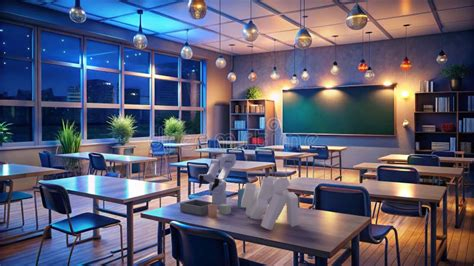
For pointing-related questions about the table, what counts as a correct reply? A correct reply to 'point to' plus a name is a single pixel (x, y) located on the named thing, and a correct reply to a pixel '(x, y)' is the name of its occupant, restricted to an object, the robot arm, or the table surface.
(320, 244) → the table surface
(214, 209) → the terracotta cylinder
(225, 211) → the sage cube
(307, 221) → the table surface
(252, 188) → the pile of blocks
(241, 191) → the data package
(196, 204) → the tote
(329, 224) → the table surface
